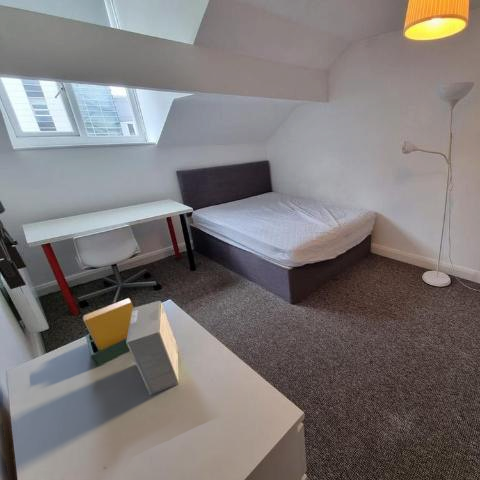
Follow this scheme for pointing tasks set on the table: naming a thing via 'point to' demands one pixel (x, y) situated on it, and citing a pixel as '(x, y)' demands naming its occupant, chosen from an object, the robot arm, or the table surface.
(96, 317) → the book
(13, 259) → the robot arm
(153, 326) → the hard drive box
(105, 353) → the caddy
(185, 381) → the table surface
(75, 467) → the table surface
